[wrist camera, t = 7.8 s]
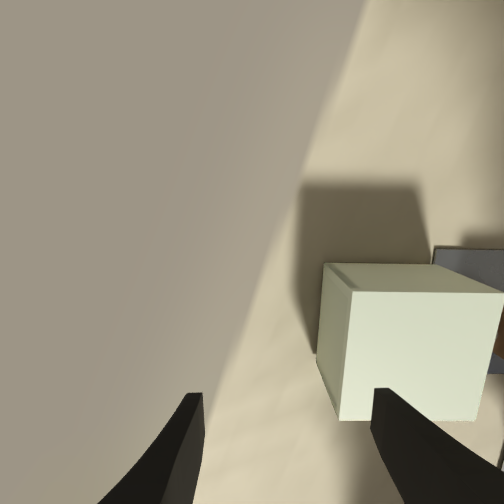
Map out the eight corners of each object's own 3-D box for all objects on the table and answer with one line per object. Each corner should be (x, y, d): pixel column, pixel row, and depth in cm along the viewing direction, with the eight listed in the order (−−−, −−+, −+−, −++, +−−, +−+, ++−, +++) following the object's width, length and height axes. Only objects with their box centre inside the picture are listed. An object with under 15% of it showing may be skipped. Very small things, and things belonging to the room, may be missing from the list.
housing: (436, 264, 20) (506, 293, 15) (419, 362, 22) (475, 421, 16) (323, 262, 20) (352, 291, 14) (316, 362, 22) (338, 420, 16)
